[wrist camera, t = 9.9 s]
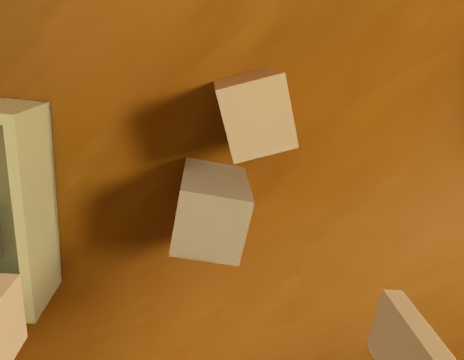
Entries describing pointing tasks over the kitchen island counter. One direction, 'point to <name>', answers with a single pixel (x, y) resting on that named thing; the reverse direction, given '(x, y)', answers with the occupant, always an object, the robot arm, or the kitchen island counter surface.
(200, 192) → the stone
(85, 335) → the kitchen island counter surface
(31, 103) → the bin
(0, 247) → the stone
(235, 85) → the stone
